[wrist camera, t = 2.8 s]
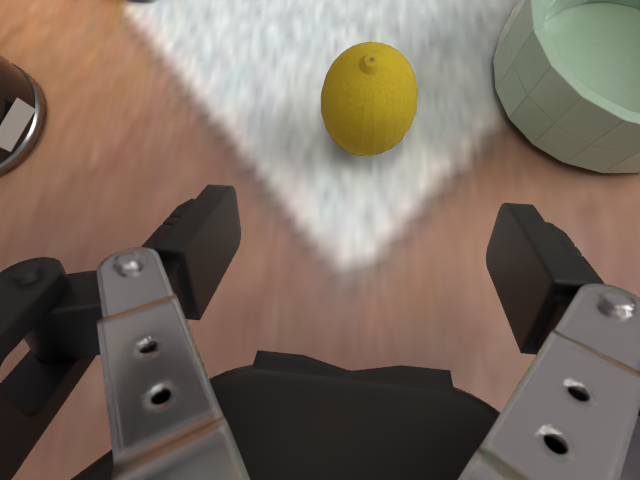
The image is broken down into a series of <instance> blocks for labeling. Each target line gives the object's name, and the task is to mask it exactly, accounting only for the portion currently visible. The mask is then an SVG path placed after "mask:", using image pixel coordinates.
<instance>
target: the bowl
mask: <svg viewBox="0 0 640 480" xmlns="http://www.w3.org/2000/svg"><path fill="white" fill-rule="evenodd" d="M493 59H494V60H493V63H494V76H495V89H496V91H497V94H498V96H499V98H500V100H501V102H502V105H503V107H504V109H505V111H506V113H507V116H508V118H510V120H511V121H512V122H513V123H514V125H515V126H516V127H517V128H518V129H519V130H520V131H521V132H522V133H523V134H524V135H525V136H526V138H527V139H528V140H529V141H530V142H531V143H533V145H534V146H536V147H538V148H539V149H541V150H543V151H545V152H546V153H548V154H550V155H551V156H553V157H555V158H556V159H558V160H560V161H561V162H563V163H567V164H570V165H574V166H578V167H581V168H585V169H589V170H593V171H596V172H602V173H640V0H518V1H517V3H516V5H515V7H514V9H513V11H512V13H511V15H510V16H509V18H508V20H507V22H506V24H505V26H504V28H503V30H502V32H501V35H500V38H499V41H498V45H497V48H496V52H495V55H494V58H493Z"/></svg>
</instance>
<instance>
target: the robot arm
mask: <svg viewBox="0 0 640 480" xmlns="http://www.w3.org/2000/svg"><path fill="white" fill-rule="evenodd" d="M45 118H46V103H45V98H44V95H43V92H42V90H41V88H40V87H39V85H38V84H37V82H36V81H35V80H34V79H33V78H32V77H31V76H30V75H28V74H27V73H26V72H24V71H23V70H21V69H20V68H19V67H17V66H16V65H14V64H12V63H10V62H8V61H7V60H6V59H4V58H3V57H2V56H0V175H2V174H4V173H6V172H8V171H10V170H11V169H13V168H14V167H16V166H17V165H18V164H19V163H20V162H22V161H23V160H24V159H25V158H26V157H27V156H28V154H29V153H30V152H31V151H32V149H33V148H34V147H35V145H36V143H37V142H38V140H39V138H40V136H41V133H42V131H43V127H44V124H45ZM240 239H241V227H240V219H239V212H238V204H237V197H236V191H235V188H234V187H233V186H227V185H210V184H209V185H207V186H206V187H205V189H204V190H203V191H202V192H201V193H200V195H199V196H198V197H197V198H196V199H190V200H188V201H186V202H185V203H183V204H181V205H179V206H178V207H177V208H176V209H175V210H174V211H173V212H172V213H171V215H170V217H168V218H167V219H166V220H165V221H164V222H163V225H161V226H160V227H159V228H158V229H157V230H156V231H155V232H154V233H153V234H152V235H151V237H150V238H149V239H148V240H147V241H146V242H145V243H144V244H143V245H142V247H134V248H128V249H124V250H121V251H118V252H116V253H113V254H111V255H110V256H108V257H107V258H105V259H104V260H103V261H102V262H101V263H100V264H99V266H98V268H97V270H96V271H87V272H79V273H71V274H66V272H65V270H64V268H63V266H62V264H61V262H60V261H59V260H57V259H54V258H48V257H41V258H34V259H29V260H25V261H22V262H19V263H17V264H14V265H12V266H10V267H8V268H7V269H5V270H3V271H2V272H0V366H1V364H2V362H3V361H4V359H5V358H6V357H7V355H8V354H9V353H10V352H11V351H12V350H13V349H14V348H15V347H16V346H17V345H18V344H19V342H20V341H21V340H22V339H23V338H24V339H25V341H26V343H27V344H28V346H29V347H30V349H31V350H30V351H29V352H28V353H27V354H26V355H25V356H24V358H23V359H22V360H21V361H20V362H19V363H18V364H17V366H16V367H15V368H14V369H13V370H12V371H11V372H10V374H9V375H8V376H7V377H6V378H5V379H4V380H3V382H2V383H0V480H11V479H12V478H13V476H14V475H15V473H16V472H17V471H18V469H19V468H20V466H21V465H22V463H23V462H24V460H25V459H26V457H27V456H28V455H29V453H30V452H31V450H32V449H33V447H34V446H35V444H36V443H37V441H38V440H39V438H40V437H41V436H42V434H43V433H44V431H45V430H46V428H47V427H48V425H49V424H50V422H51V421H52V419H53V418H54V417H55V415H56V414H57V412H58V411H59V409H60V408H61V406H62V405H63V403H64V402H65V400H66V399H67V398H68V396H69V395H70V393H71V392H72V390H73V389H74V387H75V386H76V384H77V383H78V381H79V380H80V379H81V377H82V376H83V374H84V373H85V371H86V370H87V368H88V367H89V365H90V364H91V362H92V361H93V360H94V358H95V357H96V355H100V354H101V362H102V370H103V378H104V386H105V395H106V403H107V411H108V419H109V427H110V436H111V444H112V450H110V451H109V452H108V453H106V454H105V455H104V456H102V457H101V458H99V459H98V460H97V461H95V462H94V463H93V464H91V465H90V466H89V467H87V468H86V469H84V470H83V471H82V472H80V473H79V474H78V475H76V476H75V477H73V478H72V479H71V480H619V477H620V474H621V470H622V467H623V464H624V460H625V457H626V453H627V450H628V446H629V443H630V440H631V436H632V433H633V429H634V426H635V423H636V419H637V416H638V415H639V416H640V298H639V297H637V296H636V295H634V294H632V293H630V292H628V291H626V290H623V289H621V288H618V287H615V286H611V285H606V284H604V282H603V281H602V280H601V278H600V277H599V276H598V275H597V273H596V272H595V271H594V269H593V268H592V267H591V265H590V264H589V263H588V262H587V260H586V259H585V258H584V257H583V256H581V255H582V254H581V252H580V251H579V250H578V249H577V247H574V243H573V242H572V241H571V239H570V238H569V237H568V236H567V234H566V233H565V232H563V231H562V230H560V229H559V228H557V227H556V226H554V225H553V224H551V223H548V222H545V221H544V219H543V218H542V217H541V215H540V214H539V212H538V211H537V210H536V208H535V207H534V206H533V205H529V204H513V203H504V204H502V206H501V207H500V209H499V212H498V215H497V218H496V221H495V225H494V228H493V231H492V234H491V238H490V241H489V244H488V247H487V253H486V264H487V268H488V271H489V273H490V276H491V279H492V281H493V284H494V286H495V289H496V291H497V294H498V296H499V299H500V301H501V304H502V306H503V309H504V311H505V314H506V317H507V319H508V322H509V324H510V327H511V329H512V332H513V334H514V337H515V339H516V342H517V344H518V347H519V349H520V352H521V353H525V354H536V357H535V358H534V360H533V362H532V363H531V365H530V367H529V368H528V370H527V371H526V373H525V375H524V376H523V378H522V380H521V381H520V383H519V384H518V386H517V388H516V389H515V391H514V393H513V394H512V396H511V397H510V399H509V401H508V402H507V404H506V405H505V407H504V409H503V410H502V412H501V413H499V412H498V411H497V410H496V409H494V408H493V407H491V406H490V405H489V404H487V403H486V402H484V401H482V400H481V399H479V398H477V397H475V396H473V395H472V394H469V393H467V392H465V391H463V390H460V389H458V388H455V387H453V384H452V378H451V373H450V371H449V370H440V369H430V368H421V367H411V366H402V365H400V366H392V367H383V368H374V369H366V370H357V371H350V370H346V369H343V368H340V367H337V366H334V365H331V364H328V363H325V362H322V361H319V360H316V359H313V358H310V357H307V356H304V355H297V354H287V353H278V352H268V351H259V350H258V351H257V354H256V357H255V360H254V363H253V365H249V366H244V367H239V368H235V369H232V370H229V371H226V372H224V373H221V374H219V375H217V376H215V377H213V378H211V379H209V378H208V375H207V373H206V370H205V367H204V365H203V362H202V360H201V357H200V355H199V352H198V349H197V347H196V344H195V342H194V339H193V337H192V334H191V331H190V329H189V326H188V324H187V321H186V319H192V320H200V319H201V317H202V315H203V313H204V311H205V310H206V308H207V306H208V304H209V302H210V300H211V298H212V296H213V294H214V293H215V291H216V289H217V287H218V285H219V283H220V281H221V279H222V277H223V276H224V274H225V272H226V270H227V268H228V266H229V264H230V262H231V261H232V259H233V257H234V255H235V253H236V251H237V249H238V247H239V244H240Z"/></svg>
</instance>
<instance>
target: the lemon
mask: <svg viewBox="0 0 640 480" xmlns="http://www.w3.org/2000/svg"><path fill="white" fill-rule="evenodd" d="M417 96H418V90H417V84H416V80H415V75H414V72H413V70H412V68H411V66H410V64H409V62H408V60H407V59H406V58H405V57H404V56H403V55H402V54H401V53H400V52H399V51H398V50H396V49H394V48H393V47H391V46H389V45H386V44H383V43H376V42H367V43H361V44H358V45H355V46H352V47H351V48H349V49H347V50H346V51H344V52H343V53H342V54H341V55H340V56H339V57H338V58H337V59H336V60H335V61H334V62H333V64H332V65H331V67H330V69H329V71H328V72H327V75H326V77H325V81H324V85H323V88H322V93H321V113H322V117H323V120H324V124H325V127H326V129H327V131H328V133H329V134H330V136H331V137H332V139H333V140H334V141H335V142H336V143H337V144H338V145H339V146H340V147H341V148H343V149H345V150H346V151H348V152H350V153H353V154H357V155H360V156H372V155H377V154H381V153H383V152H385V151H387V150H389V149H391V148H392V147H394V146H395V145H396V144H397V143H398V142H400V141H401V140H402V138H403V137H404V136H405V134H406V133H407V131H408V130H409V128H410V127H411V124H412V121H413V119H414V116H415V113H416V108H417Z"/></svg>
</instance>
